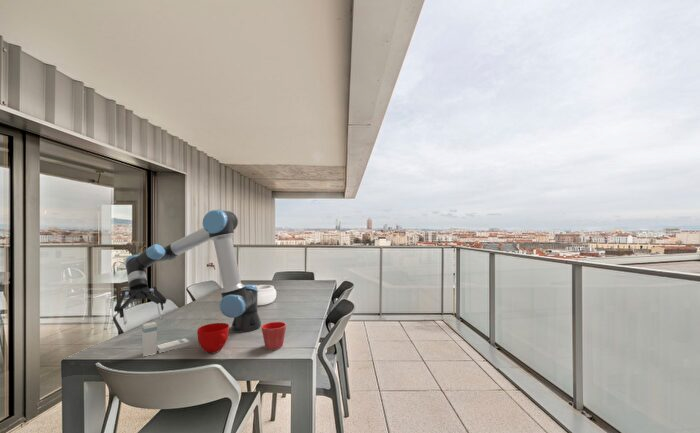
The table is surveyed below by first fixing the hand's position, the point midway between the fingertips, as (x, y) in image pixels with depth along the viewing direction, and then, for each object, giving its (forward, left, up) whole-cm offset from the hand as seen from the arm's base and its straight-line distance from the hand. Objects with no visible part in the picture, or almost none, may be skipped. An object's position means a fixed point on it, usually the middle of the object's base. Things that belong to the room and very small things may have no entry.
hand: (143, 319), depth 136 cm
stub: (-6, +6, -13) cm, 16 cm away
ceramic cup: (-34, +4, -14) cm, 37 cm away
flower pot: (-59, 0, -14) cm, 61 cm away
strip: (-13, -1, -13) cm, 19 cm away
